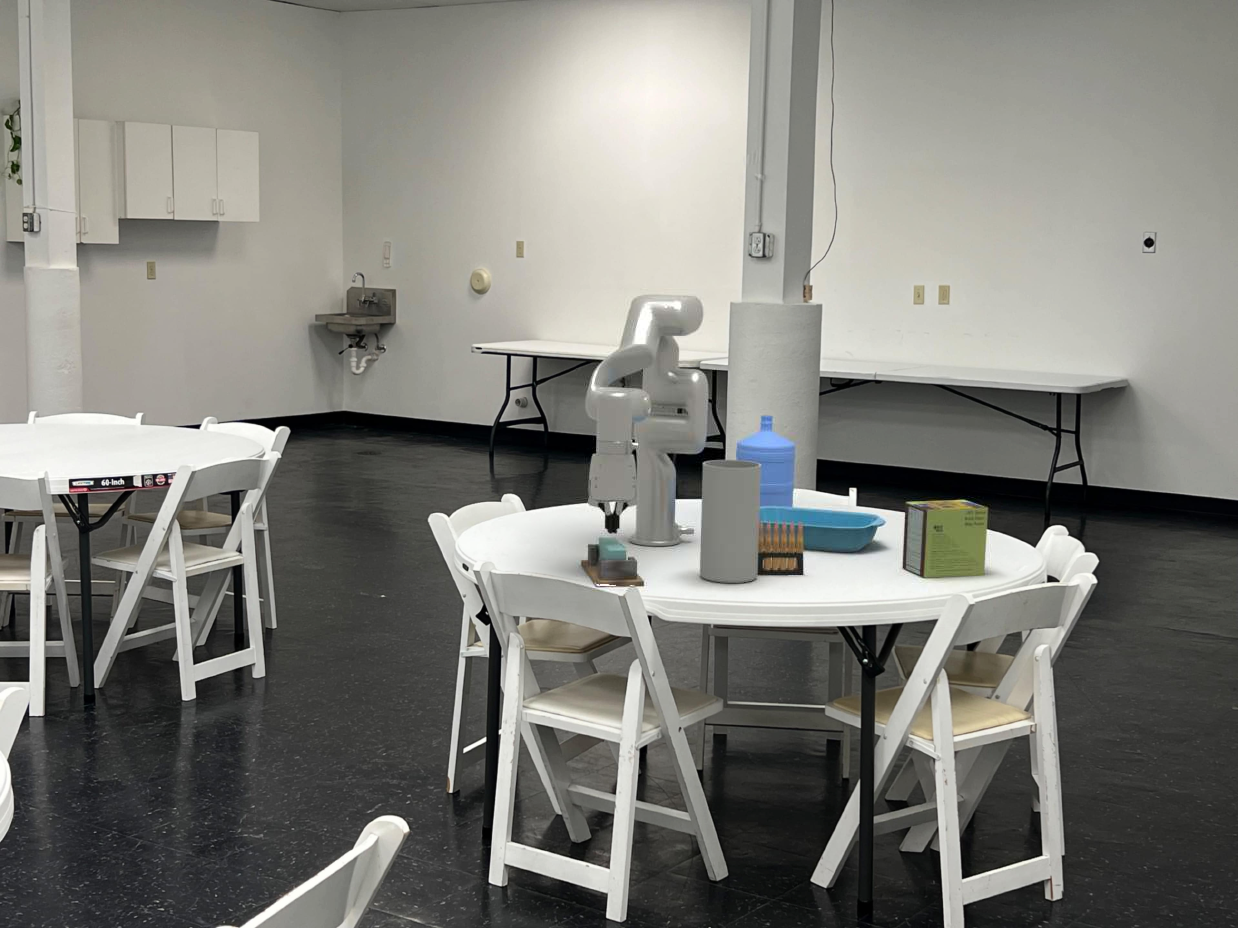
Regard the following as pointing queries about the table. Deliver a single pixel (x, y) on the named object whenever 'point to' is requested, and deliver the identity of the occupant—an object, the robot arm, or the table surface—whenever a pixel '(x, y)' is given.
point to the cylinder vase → (730, 521)
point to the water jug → (771, 463)
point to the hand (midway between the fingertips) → (611, 532)
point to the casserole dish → (824, 527)
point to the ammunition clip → (782, 559)
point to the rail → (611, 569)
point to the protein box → (945, 538)
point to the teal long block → (611, 549)
